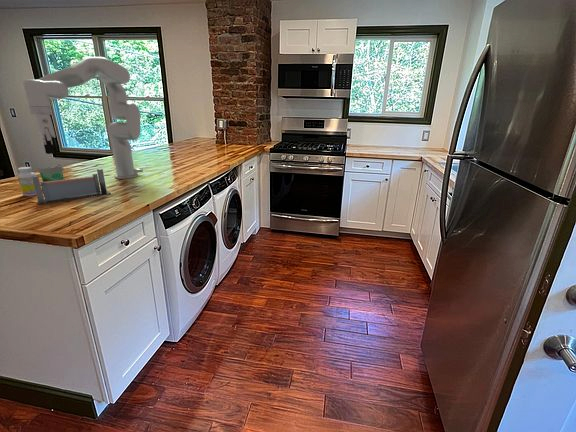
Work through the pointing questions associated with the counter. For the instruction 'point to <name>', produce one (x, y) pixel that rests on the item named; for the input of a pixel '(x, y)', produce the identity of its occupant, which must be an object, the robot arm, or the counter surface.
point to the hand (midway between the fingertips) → (50, 153)
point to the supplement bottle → (26, 181)
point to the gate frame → (42, 201)
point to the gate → (70, 187)
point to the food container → (51, 173)
